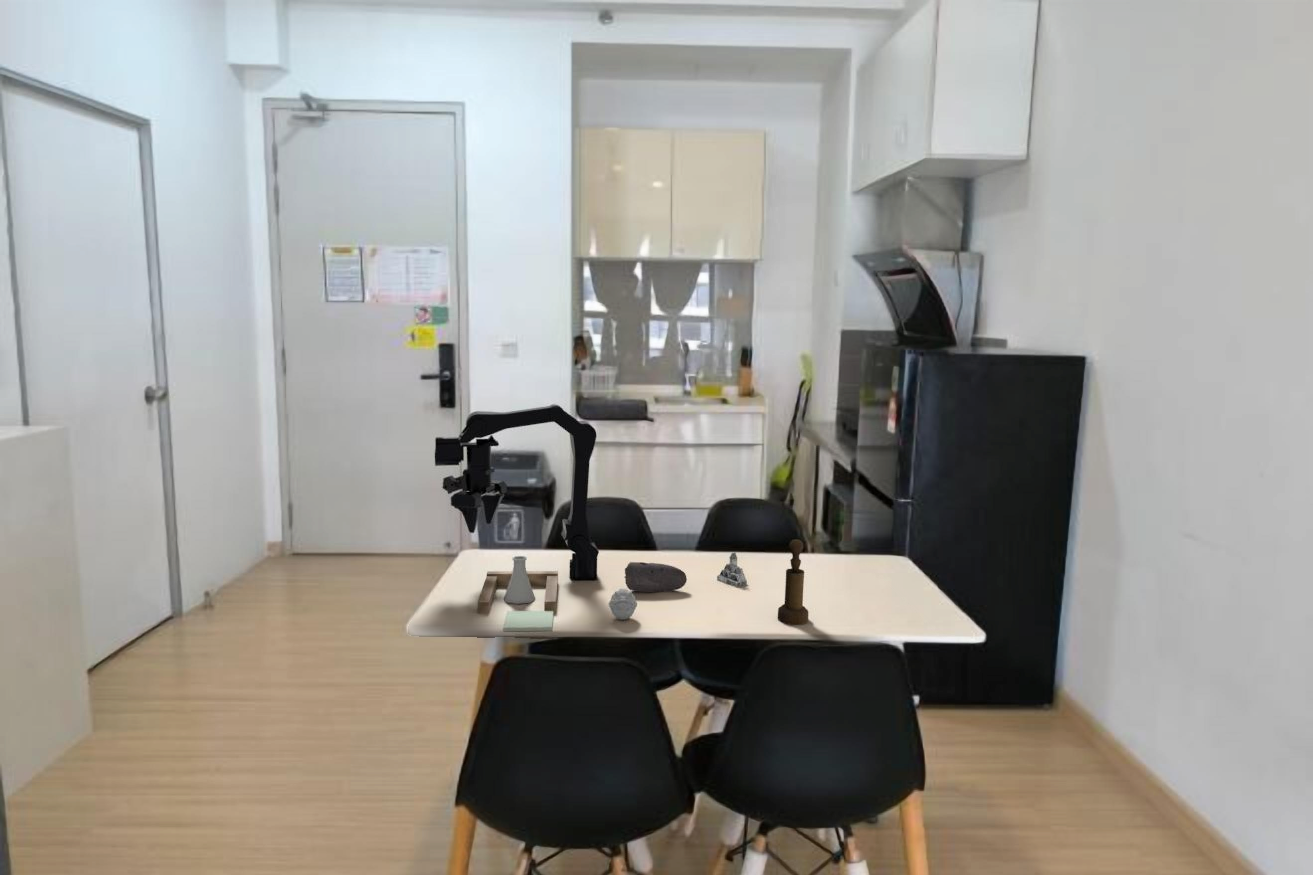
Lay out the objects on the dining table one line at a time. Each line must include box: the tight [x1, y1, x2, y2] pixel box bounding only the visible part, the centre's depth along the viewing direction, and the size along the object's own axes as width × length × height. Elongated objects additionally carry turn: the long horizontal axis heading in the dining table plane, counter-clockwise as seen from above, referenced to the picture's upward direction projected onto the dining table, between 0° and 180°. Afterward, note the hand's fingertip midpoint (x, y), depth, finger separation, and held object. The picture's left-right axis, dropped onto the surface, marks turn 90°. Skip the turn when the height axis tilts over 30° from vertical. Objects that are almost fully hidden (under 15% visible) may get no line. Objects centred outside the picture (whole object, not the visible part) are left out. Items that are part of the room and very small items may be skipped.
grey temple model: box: [716, 552, 748, 588], centre depth 211 cm, size 9×9×8 cm
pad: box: [502, 610, 554, 632], centre depth 179 cm, size 10×10×1 cm
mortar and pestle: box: [777, 539, 809, 626], centre depth 183 cm, size 7×6×18 cm
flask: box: [503, 555, 536, 605], centre depth 193 cm, size 7×7×10 cm
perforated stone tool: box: [624, 561, 688, 593], centre depth 202 cm, size 15×5×7 cm, turn 92°
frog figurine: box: [608, 588, 638, 621], centre depth 182 cm, size 6×7×7 cm
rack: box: [476, 570, 559, 614], centre depth 195 cm, size 17×21×3 cm
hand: (480, 527), depth 204 cm, fingers open, 9 cm apart
